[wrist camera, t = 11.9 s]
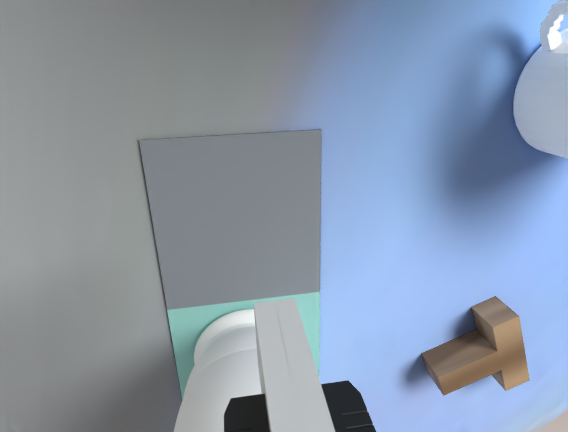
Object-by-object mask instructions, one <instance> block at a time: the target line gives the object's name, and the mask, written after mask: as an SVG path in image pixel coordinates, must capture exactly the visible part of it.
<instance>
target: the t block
mask: <svg viewBox="0 0 568 432" xmlns="http://www.w3.org/2000/svg"><path fill="white" fill-rule="evenodd" d="M471 308H472V312H473V317H474V321H475V326H476V330H474V331H471V332H469V333H467V334H464V335H462V336H460V337H458V338H455V339H453V340H451V341H449V342H446V343H444V344H442V345H439V346H437V347H435V348H433V349H430V350H428V351H426V352H423V353H421V354H422V357H423V360H424V363H425V367H426V370H427V372H428V373H429V375H430V376H431V378H432V379H433V381H434V382H435V384H436V385H437V386H438V388H439V389H440V391H441V392H442V394H443V395H446V394H448V393H451V392H453V391H455V390H457V389H460V388H462V387H464V386H467V385H469V384H471V383H473V382H476V381H478V380H480V379H482V378H485V377H487V376H489V375H492V376H493V377H494V378H495V379H496V380H497V382H498V383H499V384H500V385H501V386H502V387H503V388H504V390H505V391H506V390H509V389H511V388H513V387H515V386H518V385H520V384H522V383H524V382H527V381H529V374H528V368H527V362H526V356H525V349H524V343H523V337H522V331H521V325H520V319H519V316H518V315H517V314H516V313H515V312H514V311H512V310H511V309H510V308H509V307H508V306H507V305H505V304H504V303H503V302H502V301H501V300H499V299H498V298H497V297H496V296H495V297H493V298H490V299H488V300H486V301H483V302H481V303H479V304H477V305H474V306H472V307H471Z"/></svg>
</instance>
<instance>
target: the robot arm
mask: <svg viewBox="0 0 568 432" xmlns="http://www.w3.org/2000/svg"><path fill="white" fill-rule="evenodd" d="M254 315H255V330H256V345H257V360H258V368H259V376H260V384H261V392H262V394H257V395H250V396H243V397H236V398H231V399H230V401H229V403H228V406H227V408H226V411H225V413H224V432H376V430H375V428H374V426H373V424H372V420H371V418H370V416H369V413H368V412H367V408H366V406H365V403H364V401H363V398H362V396H361V393H360V392H359V391H358V390H357V389H356V388H355V387H354V386H353V385H352V384H351V383H350V382H349V381H342V382H335V383H328V384H321V383H320V379H319V376H318V373H317V370H316V366H315V363H314V360H313V356H312V353H311V350H310V346H309V343H308V340H307V336H306V333H305V330H304V326H303V323H302V320H301V316H300V313H299V310H298V307H297V303H296V300H295V298H293V299H284V300H275V301H266V302H257V303H254Z"/></svg>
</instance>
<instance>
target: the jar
mask: <svg viewBox="0 0 568 432" xmlns="http://www.w3.org/2000/svg"><path fill="white" fill-rule="evenodd" d="M194 363H195V365H194V367H193V369H192V371H191V374H190V376H189V379H188V382H187V385H186V388H185V392H184V396H183V400H182V403H181V406H180V409H179V413H178V416H177V420H176V424H175V428H174V432H224V413H225V411H226V408H227V406H228V403H229V401H230V399H231V398H236V397H243V396H250V395H257V394H262V392H261V384H260V376H259V368H258V360H257V345H256V330H255V315H254V309H246V310H239V311H235V312H232V313H229V314H226V315H224V316H222V317H220V318H219V319H217V320H215V321H214V322H213V323H211V324H210V325H209V326H208V327H207V328H206V329H205V330H204V331H203V333H202V334H201V336H200V337H199V339H198V341H197V343H196V346H195V351H194Z"/></svg>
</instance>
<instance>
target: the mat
mask: <svg viewBox="0 0 568 432" xmlns="http://www.w3.org/2000/svg"><path fill="white" fill-rule="evenodd" d="M139 143H140V149H141V155H142V161H143V167H144V173H145V180H146V186H147V192H148V198H149V204H150V210H151V216H152V222H153V228H154V234H155V240H156V246H157V252H158V258H159V264H160V270H161V276H162V282H163V288H164V294H165V300H166V306H167V312H168V318H169V324H170V330H171V336H172V342H173V348H174V354H175V360H176V366H177V372H178V378H179V384H180V390H181V396H182V400H183V396H184V392H185V388H186V385H187V382H188V379H189V376H190V374H191V371H192V369H193V367H194V365H195V363H194V351H195V346H196V343H197V341H198V339H199V337H200V336H201V334H202V333H203V331H204V330H205V329H206V328H207V327H208V326H209V325H210V324H211V323H213V322H214V321H215V320H217V319H219V318H220V317H222V316H224V315H226V314H229V313H232V312H235V311H239V310H246V309H254V303H257V302H266V301H275V300H284V299H293V298H295V300H296V303H297V307H298V310H299V313H300V316H301V320H302V323H303V326H304V330H305V333H306V336H307V340H308V343H309V346H310V350H311V353H312V356H313V360H314V363H315V366H316V370H317V373H318V376H319V330H320V226H321V129H318V130H301V131H283V132H266V133H249V134H232V135H215V136H197V137H180V138H163V139H146V140H139Z"/></svg>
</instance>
